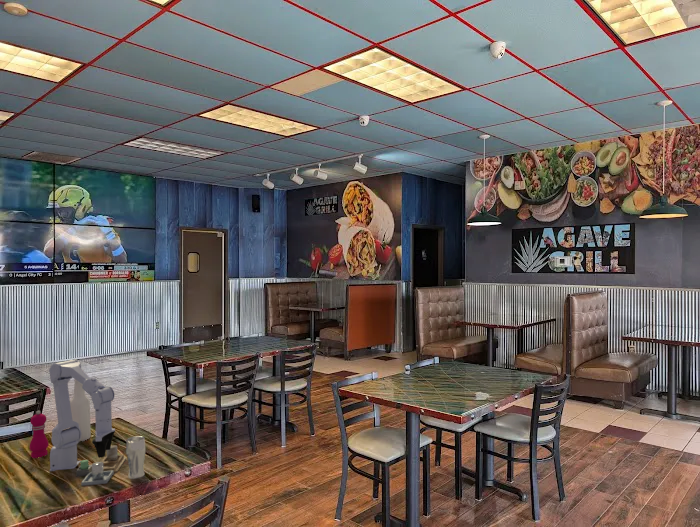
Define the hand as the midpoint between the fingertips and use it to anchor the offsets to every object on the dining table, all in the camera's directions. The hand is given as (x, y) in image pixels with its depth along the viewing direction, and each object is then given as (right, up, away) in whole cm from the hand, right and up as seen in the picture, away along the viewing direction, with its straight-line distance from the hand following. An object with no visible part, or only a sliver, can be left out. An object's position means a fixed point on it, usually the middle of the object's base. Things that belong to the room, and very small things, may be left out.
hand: (104, 453), depth 198 cm
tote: (-1, -10, -3) cm, 10 cm away
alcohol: (-33, -10, +44) cm, 56 cm away
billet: (-1, -9, -3) cm, 9 cm away
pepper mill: (-41, -10, +24) cm, 48 cm away
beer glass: (+13, -10, 0) cm, 16 cm away
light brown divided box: (-2, -10, +10) cm, 14 cm away
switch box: (-9, -10, +3) cm, 14 cm away
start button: (-9, -8, +3) cm, 13 cm away
